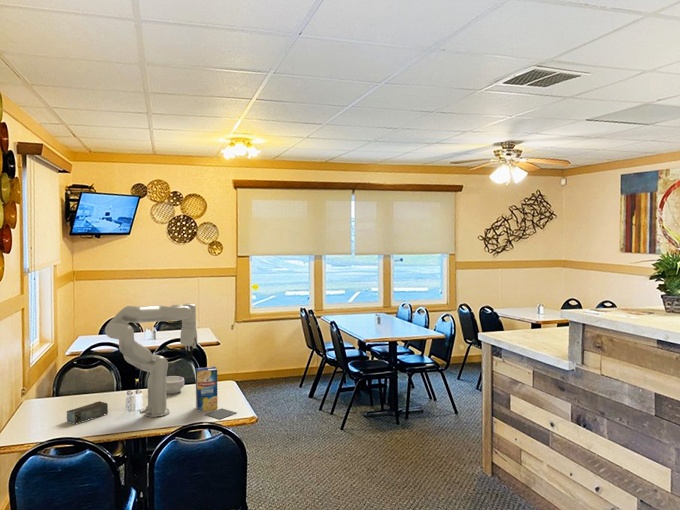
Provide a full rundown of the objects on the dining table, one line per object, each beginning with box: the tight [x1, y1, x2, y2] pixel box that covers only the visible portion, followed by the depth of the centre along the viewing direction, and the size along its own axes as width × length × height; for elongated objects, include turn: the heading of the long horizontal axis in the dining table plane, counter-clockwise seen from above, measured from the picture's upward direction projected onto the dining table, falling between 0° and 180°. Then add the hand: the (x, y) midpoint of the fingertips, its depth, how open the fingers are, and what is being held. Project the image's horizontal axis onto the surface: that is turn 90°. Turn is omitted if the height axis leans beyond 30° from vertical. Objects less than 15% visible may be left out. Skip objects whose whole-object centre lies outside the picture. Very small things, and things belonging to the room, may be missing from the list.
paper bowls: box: [166, 375, 185, 395], centre depth 330 cm, size 15×15×8 cm
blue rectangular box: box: [195, 366, 218, 412], centre depth 299 cm, size 7×11×22 cm, turn 111°
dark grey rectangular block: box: [66, 401, 109, 425], centre depth 283 cm, size 8×19×7 cm, turn 147°
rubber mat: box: [204, 407, 237, 420], centre depth 289 cm, size 12×12×1 cm
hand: (189, 357), depth 307 cm, fingers closed
